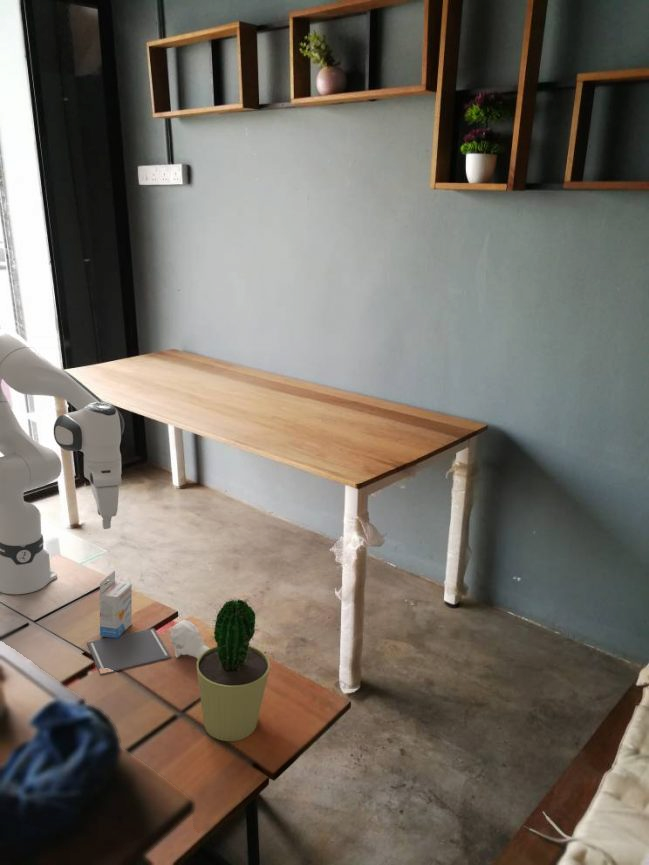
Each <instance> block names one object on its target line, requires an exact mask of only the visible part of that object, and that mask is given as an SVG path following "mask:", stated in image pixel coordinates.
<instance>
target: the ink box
mask: <svg viewBox="0 0 649 865" xmlns="http://www.w3.org/2000/svg"><path fill="white" fill-rule="evenodd" d="M108 580H109V581H108ZM132 586H133V584H132V583H131V582H122V581H117V580H116V571H115V570H113V571H112V572H111V573H110V574H108V576H106V577H105V578H103V580H102V581H100V583H99V636H100V637H102V638H116V639H118V637H119V636H120V635H123V633H124V632H126V630H128V628H129V627H130V626H132V624H133V622H132V617H133V616H132V614H133V613H132V612H133V608H132V606H133V605H132V604H133V603H132V597H133V596H132V594H133V593H132V592H133V591H132V590H133V589H132V588H133V587H132Z"/></svg>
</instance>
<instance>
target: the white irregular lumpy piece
mask: <svg viewBox="0 0 649 865" xmlns="http://www.w3.org/2000/svg"><path fill="white" fill-rule="evenodd" d="M169 637H170V643H171V644H172V646H173V651H174V654H175V655H174V656H175V659H179V657H180V656H181V655H184V656H185V655H188V656H190V657H194V658H196V659H197V660H198V658H199V657H200V655H201V654H203V653H204V652H205V651H206V650H208V649H210V648H211V647H210V648H209V647H208V646H207V645H206V643H205V640H204V638H203V637H202V634H201V632H199V629H198V628H197V625H196V624H193V623H192V622H191V621H189V620H185V619H183V620H180V621H179V622H177V623H176V624H175V625H174V626H173V628H172V630H171V632H170V635H169Z"/></svg>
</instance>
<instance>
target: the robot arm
mask: <svg viewBox="0 0 649 865" xmlns="http://www.w3.org/2000/svg"><path fill="white" fill-rule="evenodd" d="M2 380H3V381H4V382H5V384H6V385H7V386H9V387H10V388H11V389H12V390H14V391H15V392H17V393H20V394H22V395H29V396H46V397H54V398H58V399H61V400H65V401H66V402H67V403H69V404H70V405H71V406H73V407H74V409H75V411H71V412H67V413H66V412H65V413H63V414H62V415H59V416H58V417H57V419H56V420H55V422H54V425H53V438H54V441H55V442H56V444H57V445H58V447H60V448H62V449H63V450H64V451H69V452H79V451H80V452H82V453H83V475H84V478H86V479H87V480H88V481H89V483H90V488H91V492H92V494H93V495H92V496H93V498H94V500H95V503H96V508H97V509H96V510H97V512H96V513H97V514H98V515H99V516H100V517H101V518H102V521H101V522H102V523H101V524H102V527H103V529H104V530H108V529H110V528H111V527H112V525H111V521H112V518H113V517H116V516H117V514H118V508H119V491H120V485H122V453H121V450H120V445H121V443H122V442H121V441H122V435H123V433H124V432H125V431H124V430H125V421H124V417H123V415H122V413H121V412H120V410H118V408H116V407H115V406H114V405H112V404H110V403H107V402H105V401H104V400H102V398H100V397H98V396H97V395H96V393H94V392H93V391H92V390H90V389H89V388H88V387H87V386H85V385H84V384H83V383H82V382H81V381H79V379H78V378H76V377H75V376H73V375H72V374H71V373H70V372H68V371H66V370H64V369H63V368H60V367H58V366H56V365H55V364H53V363H52V362H50V361H48V360H47V359H46V358H44V356H42V355H41V354H40V353H39V352H37V350H36V349H35V348H34V347H33V346H32V345H31V344H30V343H29V342H28V341H26V340H25V339H24V338H23V337H21V336H20V335H19V334H17V333H16V332H15V331H13V330H11V329H7V328H1V329H0V453H1V454H2V455H3V456H0V593H2V594H6V595H7V594H8V595H23V594H29V593H33V592H34V593H35V592H36V591H40V590H41V589H43V588H45V587H46V586H47V585H48V584H49V583H50V582H52V581H54V580H56V579H57V577H58V575H57V573H56V571H54V570H53V568H51V562H50V560H51V559H50V553H49V552H48V551H47V550H46V549H44V543H45V542H44V536H43V534H42V521H41V520H42V514H41V512H40V509H39V508H38V507H37V506H36V505H35V504H33V503H30V502H28V501H25V500H24V494H25V493H26V492H28V491H32V490H35V489H37V488H42V487H44V486H46V485H48V484H50V483H52V482H53V481H56V480H57V479H58V478H59V477H60V476H61V473H62V468H63V467H62V461H61V458H60V456H59V455H58V453H57V452H56V451H54V450H53V449H51V448H49V447H45V446H44V445H41V444H40V443H38V442H37V441H35V440H34V438H32V437H31V436H30V435H29V434H28V433H27V432H26V431H25V430H24V429H23V427H22V426H21V425H20V422H19V421H18V419H17V417H16V415H15V413H14V411H13V409H12V406H11V405H10V403H9V401H8V399H7V396H6V395H5V393H4V390H3V388H2V382H3V381H2Z"/></svg>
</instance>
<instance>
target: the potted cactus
mask: <svg viewBox="0 0 649 865" xmlns="http://www.w3.org/2000/svg"><path fill="white" fill-rule="evenodd" d="M247 601H248V600H247V599H245V600H244V599H241V597H239V598H237V599H235V598H233V599H232V597H230V598H229V599H227V601H225V602H223V603H224V604H222V605H223V606H221V605H220V604H218V605H219V607H220V609H219V608H218V607H217V606H216V607H217V611H218V612H217V613H216V614H217V615H215V619H213V620H212V621H213V622H214V623H215V624H214V625H213V627H214V628H213V633H212V634H211V636H210V638H212V639H213V640H214V641H215V643H216V645H214V646H212V647H210V649H208V650H206V651H205V652H204V653H203V654H201V655H200V657H199V658H198V659H197V661H196V670H197V671H196V672H197V679H198V680H197V681H198V688H199V696H200V703H201V711H202V712H201V713H202V719H203V725H204V728H205V731H206V733H207V734H209V735H210V736H211V737H212V738H213V739H216V740H220V741H225V742H236V741H240V740H243V739H245V738H247V737H249V736H251V734H253V733H254V731H256V730H255V729H256V727H257V725H258V720H259V715H260V712H261V708H262V702H263V698H264V694H265V689H266V686H267V681H268V676H269V671H270V670H271V661H270V659H269V657H268V655H267V654H266V653H265V652H264V651H262V650H261V649H259V648H257V647H255V646H252V644H250V642H252V640H254V638H253V637H254V635H255V634H256V633H255V632H256V631H259V629H255V628H256V627H259V624H256V615H257V614H258V611H259V610H260V609H258V610H256V612H255V609H254V606H250V605H252V604H253V603H247ZM249 604H250V605H249ZM212 635H213V636H212ZM212 639H211V640H212ZM211 640H210V641H211Z"/></svg>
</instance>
